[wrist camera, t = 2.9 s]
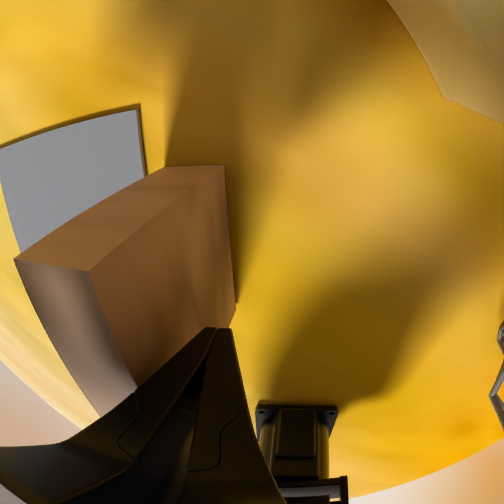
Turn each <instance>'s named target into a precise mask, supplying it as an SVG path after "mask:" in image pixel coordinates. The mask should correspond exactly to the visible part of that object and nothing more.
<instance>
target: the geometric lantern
mask: <svg viewBox="0 0 504 504" xmlns="http://www.w3.org/2000/svg"><path fill="white" fill-rule="evenodd" d="M502 336H503V337H504V324H503V325H502V326H501V327H500V328H499V332H498V338H497V342H498V344H499V346H500V348H501V350H502V353H503V355H504V341H503V340H502V339H501V338H502ZM503 380H504V360H503V363H502V366H501V368H500V371H499V374H498V376H497V379H496V381H495V383H494V385H493V387H492V389H491V391H490V393H489V398H490V400H491V402H492V404H493V407H494V409H495V411H496V413H497V416H498V418H499V420H500V423H501V425H502V428H503V430H504V403H503V402H502V400H501V399H500V398H499V396H498V395H497V392H498V390H499V388H500V386H501V384H502V382H503Z"/></svg>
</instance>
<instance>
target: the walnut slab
mask: <svg viewBox="0 0 504 504" xmlns="http://www.w3.org/2000/svg"><path fill="white" fill-rule="evenodd" d="M14 262H15V265H16V267H17V270H18V272H19V275H20V277H21V280H22V282H23V285H24V287H25V289H26V292H27V294H28V296H29V298H30V301H31V303H32V305H33V307H34V309H35V311H36V313H37V315H38V317H39V319H40V321H41V323H42V325H43V327H44V329H45V331H46V333H47V335H48V337H49V338H50V340H51V342H52V344H53V346H54V347H55V349H56V351H57V353H58V354H59V356H60V358H61V360H62V361H63V363H64V364H65V366H66V368H67V369H68V371H69V373H70V374H71V376H72V377H73V379H74V380H75V382H76V383H77V385H78V386H79V388H80V389H81V391H82V392H83V394H84V395H85V397H86V398H87V399H88V401H89V402H90V404H91V405H92V406H93V408H94V409H95V410H96V412H97V413H98V415H99V416H100V417H102V416H104V415H105V414H106V413H108V412H109V411H111V410H112V409H113V408H114V407H116V406H117V405H118V404H119V403H121V402H122V401H123V400H124V399H125V398H126V397H128V396H129V395H130V394H131V393H132V392H134V391H135V390H136V389H137V388H138V387H139V386H140V385H141V384H142V383H144V382H145V381H146V380H147V379H148V378H149V377H150V376H151V375H153V374H154V373H155V372H156V371H157V370H158V369H159V368H160V367H161V366H163V365H164V364H165V363H166V362H167V361H168V360H169V359H170V358H171V357H173V356H174V355H175V354H176V353H177V352H178V351H179V350H180V349H181V348H183V347H184V346H185V345H186V344H187V343H188V342H189V341H190V340H191V339H192V338H193V337H195V336H196V335H197V334H198V333H199V332H200V331H201V330H202V329H203V328H204V327H207V326H208V327H217V328H218V329H219V328H229V325H230V323H231V320H232V318H233V316H234V313H235V311H236V304H235V294H234V283H233V271H232V260H231V248H230V236H229V223H228V210H227V197H226V184H225V170H224V165H195V166H173V167H163V168H161V169H159V170H157V171H155V172H154V173H152V174H150V175H148V176H146V177H144V178H142V179H140V180H138V181H136V182H134V183H132V184H131V185H129V186H127V187H125V188H123V189H121V190H120V191H118V192H116V193H114V194H113V195H111V196H109V197H107V198H106V199H104V200H102V201H100V202H99V203H97V204H95V205H94V206H92V207H90V208H89V209H87V210H85V211H84V212H82V213H80V214H79V215H77V216H76V217H74V218H72V219H71V220H69V221H68V222H66V223H64V224H63V225H61V226H60V227H58V228H57V229H55V230H54V231H52V232H51V233H49V234H48V235H46V236H45V237H43V238H42V239H40V240H39V241H38V242H36V243H35V244H33V245H32V246H30V247H29V248H28V249H26V250H25V251H23V252H22V253H21V254H19V255H18V256H17V257H15V258H14Z"/></svg>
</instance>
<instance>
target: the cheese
mask: <svg viewBox="0 0 504 504" xmlns="http://www.w3.org/2000/svg"><path fill="white" fill-rule="evenodd" d="M386 1H387V2H388V4H389V5H390V6H391V7H392V9H393V10H394V12H395V13H396V14H397V16H398V17H399V19H400V20H401V22H402V23H403V25H404V26H405V28H406V29H407V31H408V32H409V34H410V36H411V37H412V39H413V41H414V42H415V44H416V46H417V47H418V49H419V51H420V53H421V54H422V56H423V58H424V60H425V62H426V64H427V66H428V68H429V70H430V72H431V74H432V76H433V78H434V80H435V82H436V84H437V86H438V88H439V90H440V92H441V94H442V96H443V98H444V99H445V100H447V101H451V102H454V103H456V104H458V105H461V106H463V107H465V108H467V109H469V110H471V111H474V112H476V113H478V114H480V115H483V116H485V117H487V118H489V119H492V120H494V121H496V122H499V123H501V124H504V0H386Z"/></svg>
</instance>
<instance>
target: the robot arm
mask: <svg viewBox="0 0 504 504" xmlns="http://www.w3.org/2000/svg"><path fill="white" fill-rule="evenodd" d="M337 415H338V408H337V407H335V406H319V407H306V406H271V405H258V406H256V410H255V416H256V430H257V438H256V435H255V432H254V428H253V425H252V421H251V417H250V412H249V408H248V404H247V399H246V395H245V390H244V385H243V381H242V376H241V371H240V367H239V362H238V357H237V352H236V347H235V342H234V337H233V332H232V329H231V328H219V329H218V328H217V327H208V326H207V327H204V328H203V329H202V330H201V331H200V332H199V333H198V334H197V335H196V336H195V337H193V338H192V339H191V340H190V341H189V342H188V343H187V344H186V345H185V346H184V347H183V348H181V349H180V350H179V351H178V352H177V353H176V354H175V355H174V356H173V357H171V358H170V359H169V360H168V361H167V362H166V363H165V364H164V365H163V366H161V367H160V368H159V369H158V370H157V371H156V372H155V373H154V374H153V375H151V376H150V377H149V378H148V379H147V380H146V381H145V382H144V383H142V384H141V385H140V386H139V387H138V388H137V389H136V390H135V391H134V392H132V393H131V394H130V395H129V396H128V397H126V398H125V399H124V400H123V401H122V402H121V403H119V404H118V405H117V406H116V407H114V408H113V409H112V410H111V411H109V412H108V413H106V414H105V415H104V416H102V417H101V418H99V419H98V420H97V421H95V422H94V423H92V424H91V425H89V426H88V427H86V428H85V429H83V430H82V431H80V432H79V433H77V434H76V435H74V436H73V437H71V438H69V439H67V440H65V441H63V442H60V443H56V444H49V445H36V446H16V447H0V504H349V503H348V479H347V475H346V476H340V477H339V478H329V437H330V434H331V432H332V429H333V426H334V423H335V421H336V418H337ZM258 442H259V443H258ZM330 498H339V501H333V502H330Z"/></svg>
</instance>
